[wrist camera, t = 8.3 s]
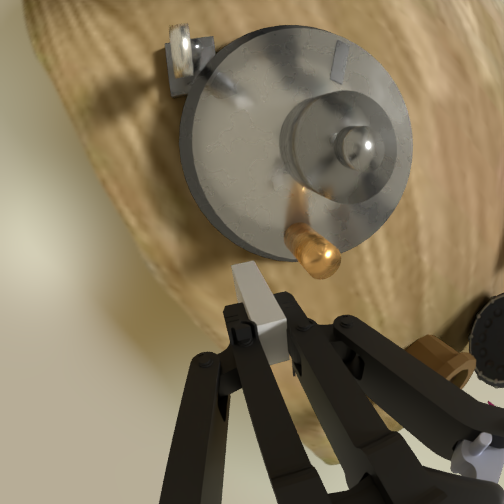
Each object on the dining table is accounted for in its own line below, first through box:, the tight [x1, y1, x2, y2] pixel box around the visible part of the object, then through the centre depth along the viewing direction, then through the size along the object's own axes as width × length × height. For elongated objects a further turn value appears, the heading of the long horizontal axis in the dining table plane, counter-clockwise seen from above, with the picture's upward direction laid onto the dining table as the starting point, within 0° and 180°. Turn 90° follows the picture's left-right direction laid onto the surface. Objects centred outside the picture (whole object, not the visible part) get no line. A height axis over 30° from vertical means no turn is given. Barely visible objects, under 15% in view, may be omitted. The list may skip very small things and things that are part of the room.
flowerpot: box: [405, 335, 494, 406], centre depth 29 cm, size 14×14×30 cm
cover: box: [279, 90, 397, 204], centre depth 18 cm, size 8×8×6 cm
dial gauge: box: [165, 23, 216, 98], centre depth 16 cm, size 5×4×8 cm
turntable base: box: [179, 25, 331, 262], centre depth 23 cm, size 22×22×2 cm
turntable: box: [192, 28, 413, 279], centre depth 19 cm, size 20×20×6 cm
